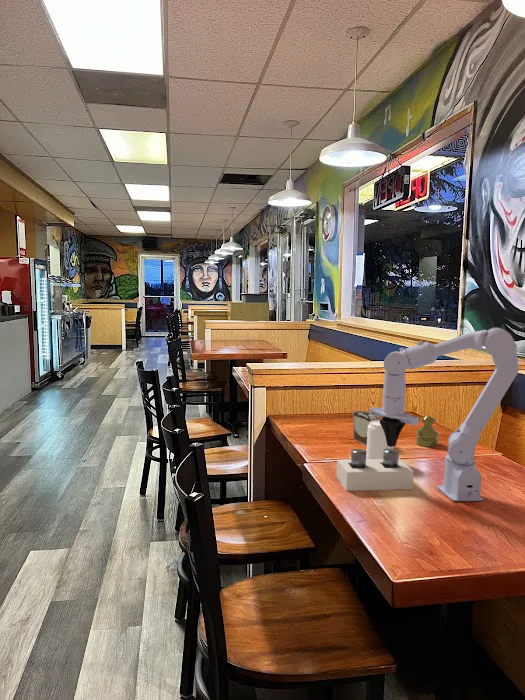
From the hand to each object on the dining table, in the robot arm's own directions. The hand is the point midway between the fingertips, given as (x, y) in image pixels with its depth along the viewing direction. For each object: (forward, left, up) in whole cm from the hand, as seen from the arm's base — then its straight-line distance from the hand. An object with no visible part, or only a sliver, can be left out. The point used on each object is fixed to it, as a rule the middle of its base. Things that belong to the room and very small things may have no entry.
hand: (391, 445), depth 135 cm
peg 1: (0, +9, -6) cm, 11 cm away
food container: (+38, -7, -11) cm, 40 cm away
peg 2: (0, 0, -6) cm, 6 cm away
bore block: (0, +4, -10) cm, 11 cm away
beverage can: (+18, -4, -11) cm, 21 cm away
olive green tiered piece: (+35, -27, -11) cm, 45 cm away
